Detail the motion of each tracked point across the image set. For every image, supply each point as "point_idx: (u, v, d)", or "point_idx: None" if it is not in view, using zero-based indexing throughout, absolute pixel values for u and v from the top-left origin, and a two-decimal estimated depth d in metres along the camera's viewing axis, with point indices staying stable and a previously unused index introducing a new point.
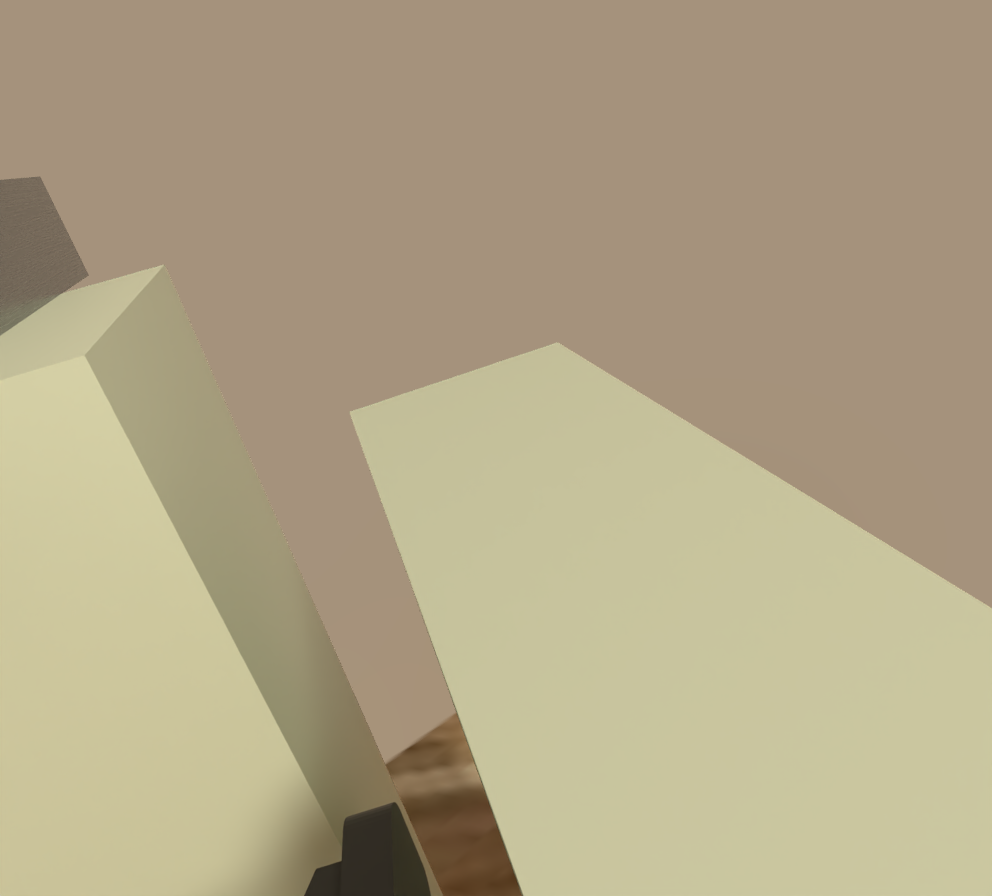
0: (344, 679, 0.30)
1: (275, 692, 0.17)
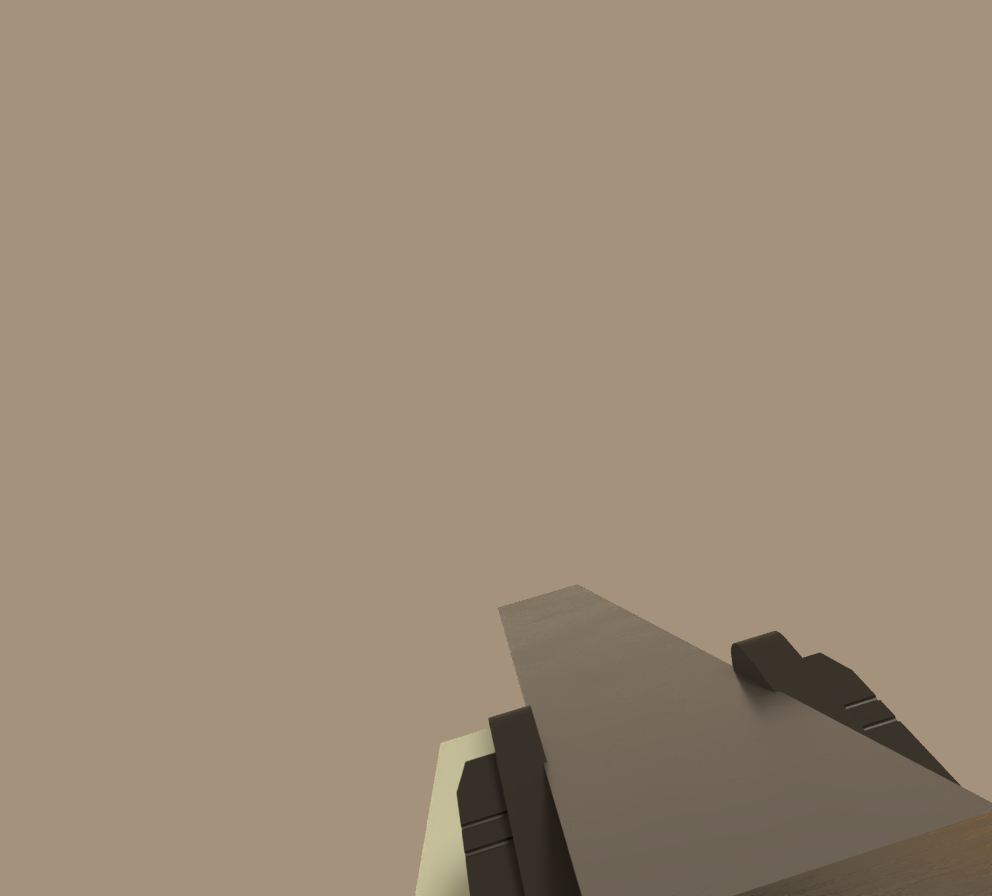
0: None
1: None
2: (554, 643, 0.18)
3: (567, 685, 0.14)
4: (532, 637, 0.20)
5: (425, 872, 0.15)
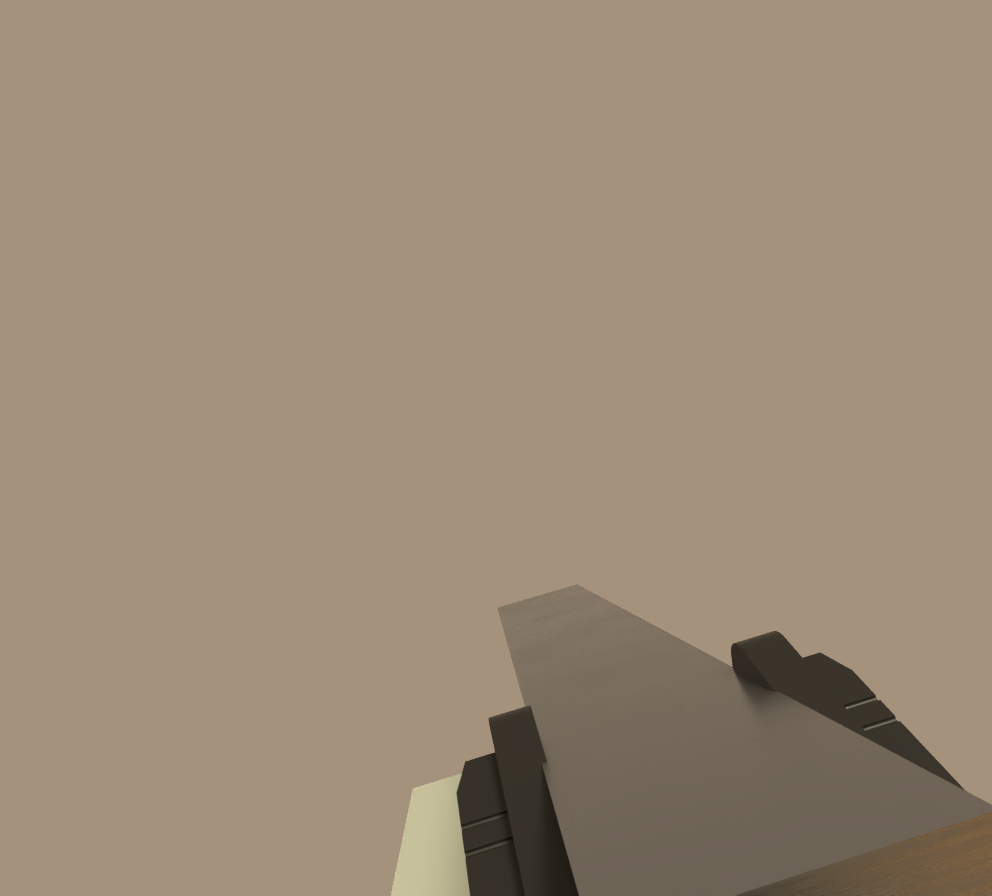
0: None
1: None
2: (553, 643, 0.18)
3: (566, 685, 0.14)
4: (531, 637, 0.20)
5: (395, 894, 0.23)
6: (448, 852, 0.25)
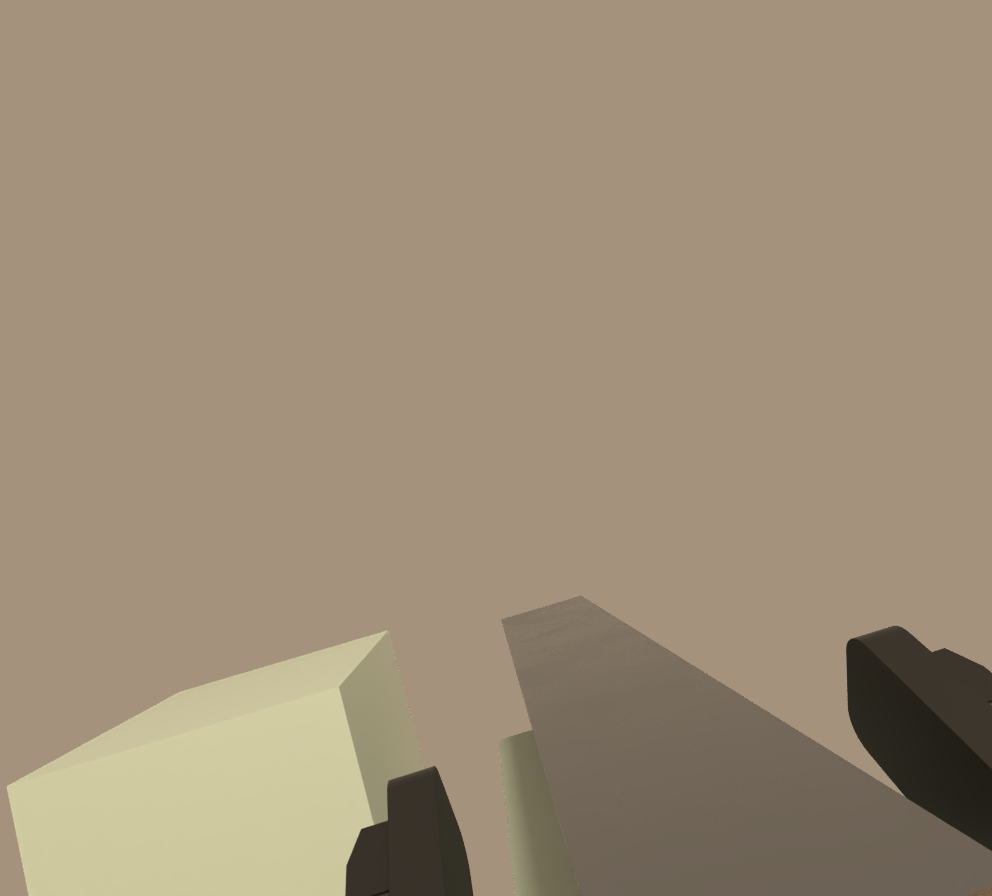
0: None
1: None
2: (560, 663, 0.18)
3: (575, 712, 0.13)
4: (537, 655, 0.20)
5: (61, 757, 0.23)
6: (140, 726, 0.25)
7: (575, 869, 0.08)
